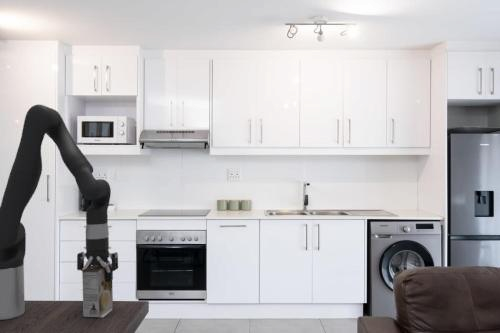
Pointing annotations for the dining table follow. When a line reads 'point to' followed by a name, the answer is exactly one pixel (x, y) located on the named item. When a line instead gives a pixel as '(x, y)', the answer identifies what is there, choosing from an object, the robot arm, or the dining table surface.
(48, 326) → the dining table surface
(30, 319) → the dining table surface
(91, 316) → the coaster
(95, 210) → the robot arm
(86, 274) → the coffee box
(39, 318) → the dining table surface
